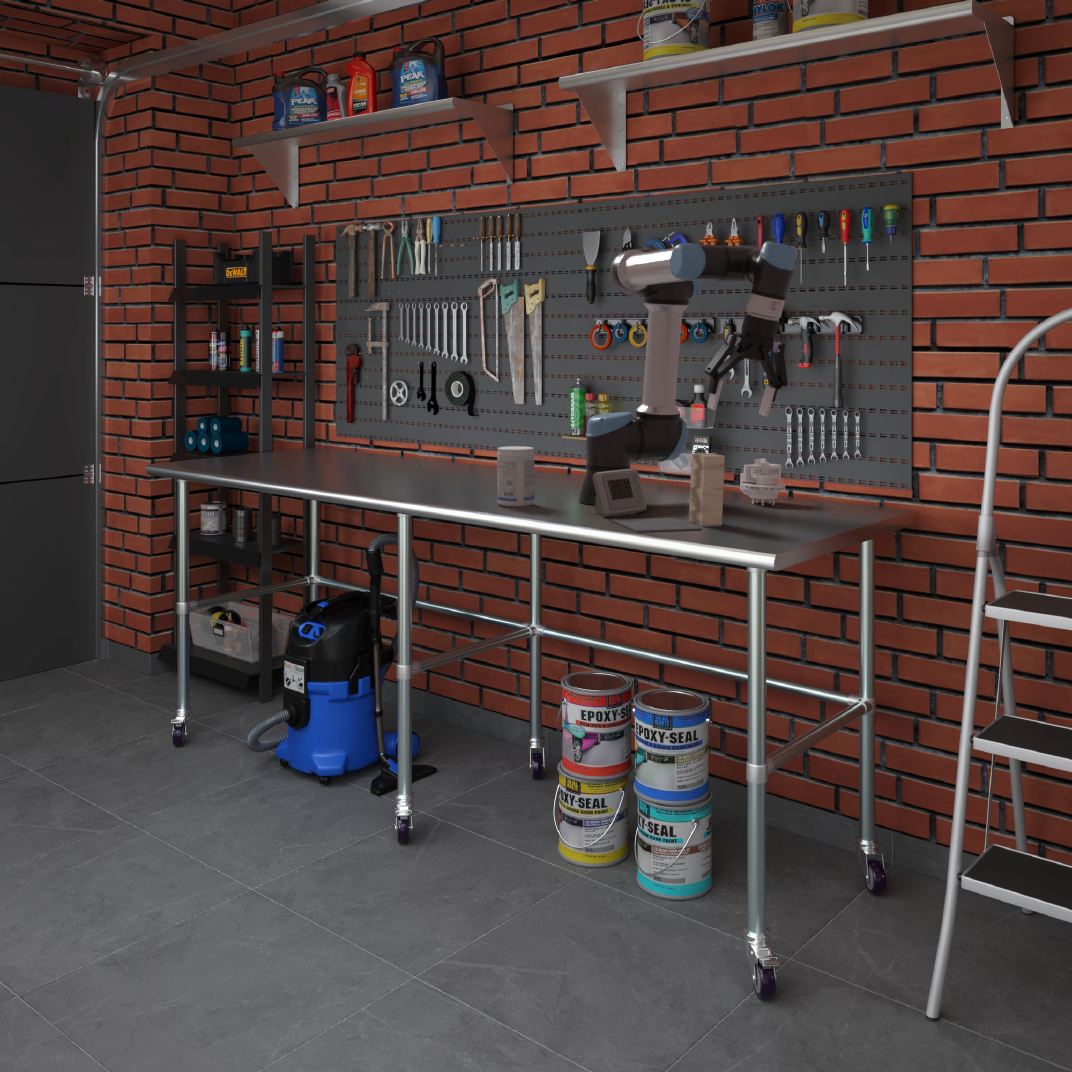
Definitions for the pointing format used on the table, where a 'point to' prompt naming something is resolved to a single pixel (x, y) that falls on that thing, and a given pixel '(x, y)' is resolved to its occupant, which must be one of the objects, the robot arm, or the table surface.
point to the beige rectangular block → (706, 489)
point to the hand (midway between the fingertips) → (737, 412)
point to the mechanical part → (761, 481)
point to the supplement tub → (515, 476)
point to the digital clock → (618, 493)
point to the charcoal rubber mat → (656, 524)
